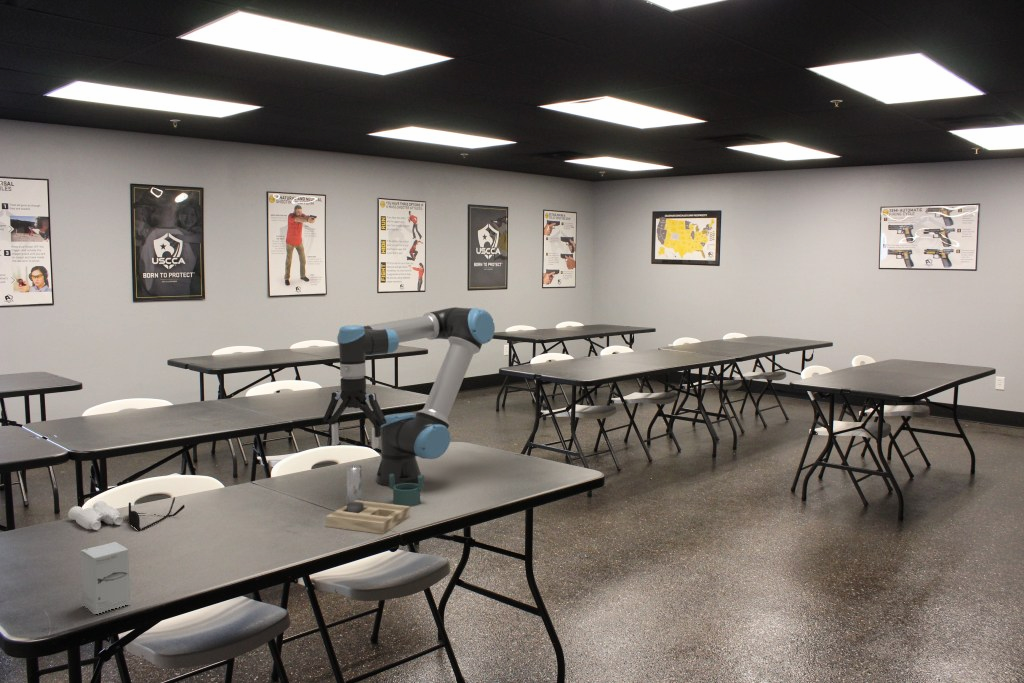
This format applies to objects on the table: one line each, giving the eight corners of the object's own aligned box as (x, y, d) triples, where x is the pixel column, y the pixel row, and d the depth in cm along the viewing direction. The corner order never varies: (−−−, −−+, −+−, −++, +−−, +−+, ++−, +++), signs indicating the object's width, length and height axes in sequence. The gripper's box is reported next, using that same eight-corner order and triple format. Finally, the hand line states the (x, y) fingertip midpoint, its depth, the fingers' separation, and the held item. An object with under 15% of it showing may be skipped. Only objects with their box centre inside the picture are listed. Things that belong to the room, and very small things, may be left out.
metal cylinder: (351, 502, 240) (351, 464, 238) (364, 503, 238) (363, 465, 237) (344, 506, 235) (343, 467, 234) (356, 507, 234) (356, 469, 233)
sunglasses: (188, 523, 220) (188, 506, 219) (133, 533, 212) (132, 515, 211) (176, 508, 234) (176, 492, 233) (124, 517, 225) (123, 500, 225)
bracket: (425, 504, 238) (425, 475, 237) (397, 508, 233) (397, 479, 233) (414, 497, 246) (414, 469, 245) (387, 501, 241) (386, 473, 240)
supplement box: (95, 616, 161) (92, 558, 160) (82, 606, 166) (79, 549, 164) (131, 605, 166) (129, 548, 165) (117, 595, 171) (115, 540, 170)
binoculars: (106, 513, 229) (106, 498, 228) (127, 526, 218) (127, 510, 217) (68, 522, 221) (67, 506, 221) (87, 535, 210) (87, 518, 210)
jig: (356, 509, 232) (355, 495, 232) (409, 516, 226) (409, 501, 226) (326, 526, 217) (326, 511, 217) (383, 534, 211) (382, 518, 211)
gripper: (310, 377, 232) (312, 446, 234) (384, 380, 224) (386, 451, 226) (323, 373, 239) (325, 440, 241) (396, 376, 231) (398, 445, 233)
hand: (355, 446), depth 234 cm, fingers open, 13 cm apart
